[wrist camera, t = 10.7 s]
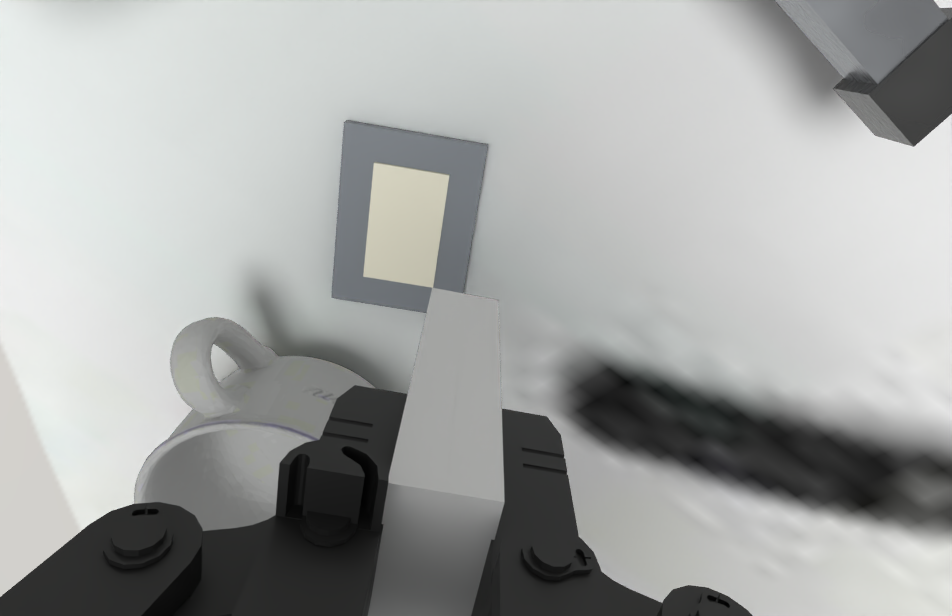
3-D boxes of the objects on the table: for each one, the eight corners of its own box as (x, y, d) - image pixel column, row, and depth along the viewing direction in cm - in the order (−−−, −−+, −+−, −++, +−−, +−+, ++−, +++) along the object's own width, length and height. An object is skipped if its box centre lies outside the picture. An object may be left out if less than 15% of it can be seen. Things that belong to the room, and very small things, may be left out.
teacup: (426, 497, 34) (408, 624, 27) (235, 504, 35) (167, 630, 28) (394, 261, 29) (361, 341, 21) (167, 275, 29) (59, 357, 22)
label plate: (459, 312, 30) (458, 320, 29) (334, 292, 29) (330, 299, 29) (487, 144, 26) (487, 147, 26) (347, 120, 26) (342, 122, 25)
